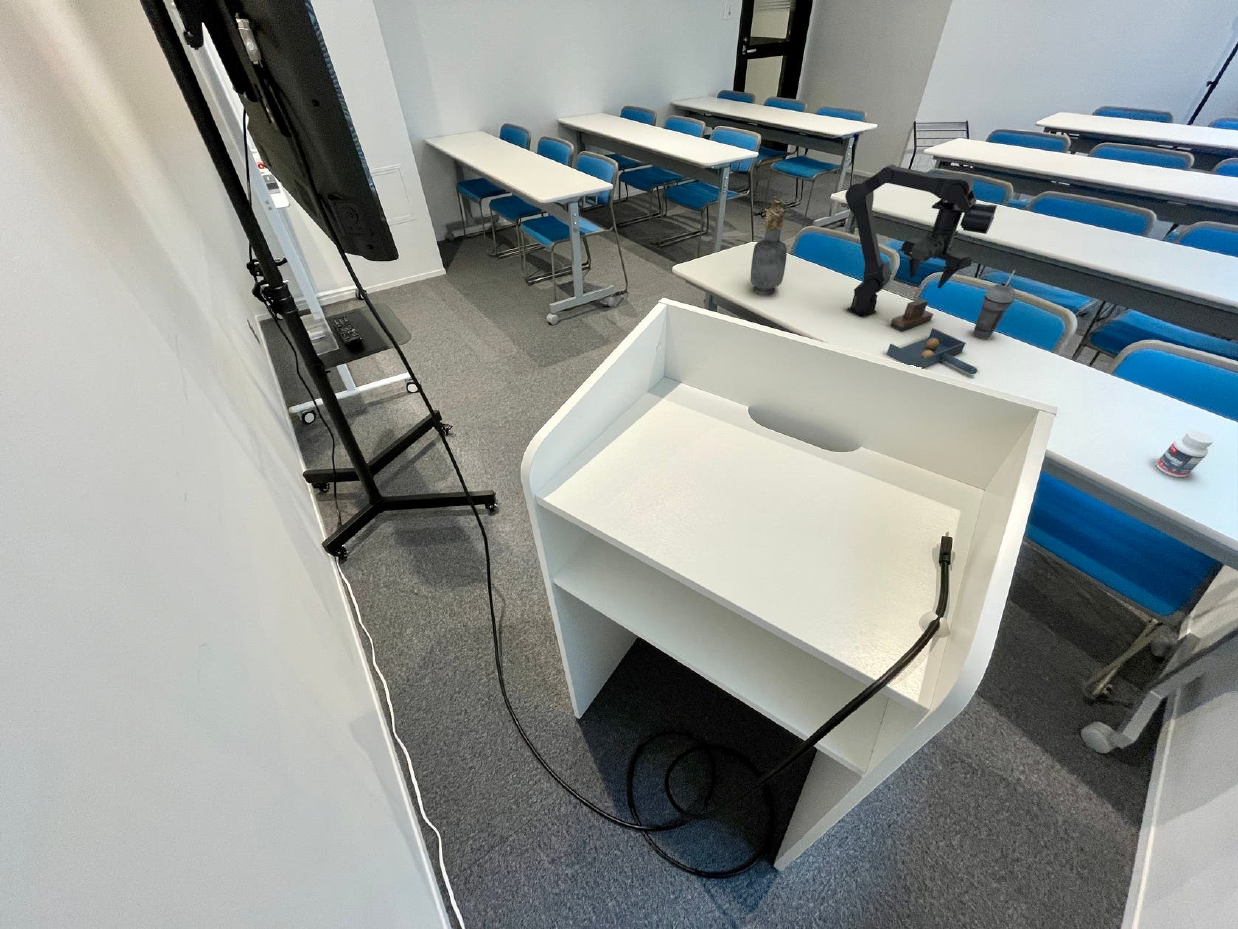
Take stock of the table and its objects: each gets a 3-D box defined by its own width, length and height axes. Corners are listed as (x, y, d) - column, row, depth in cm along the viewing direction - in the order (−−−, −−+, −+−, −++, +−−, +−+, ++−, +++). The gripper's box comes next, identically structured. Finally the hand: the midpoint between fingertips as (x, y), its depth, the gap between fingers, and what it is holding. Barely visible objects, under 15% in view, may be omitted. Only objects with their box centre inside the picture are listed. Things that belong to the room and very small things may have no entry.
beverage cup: (989, 329, 159) (1020, 263, 146) (999, 341, 153) (1033, 273, 140) (963, 329, 160) (992, 263, 146) (973, 341, 154) (1004, 273, 141)
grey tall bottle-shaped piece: (748, 298, 181) (760, 204, 161) (748, 277, 195) (760, 188, 175) (780, 300, 179) (797, 205, 159) (778, 278, 193) (794, 188, 173)
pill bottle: (1148, 462, 113) (1176, 429, 107) (1172, 460, 113) (1200, 427, 107) (1170, 478, 109) (1200, 445, 103) (1194, 476, 109) (1225, 443, 103)
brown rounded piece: (933, 351, 149) (922, 349, 152) (940, 348, 150) (930, 346, 153) (935, 340, 148) (924, 338, 150) (942, 337, 149) (932, 335, 151)
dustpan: (886, 354, 150) (890, 343, 148) (929, 337, 156) (933, 327, 154) (951, 387, 137) (956, 377, 134) (995, 368, 143) (1000, 358, 141)
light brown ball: (915, 355, 147) (924, 349, 144) (923, 352, 148) (932, 346, 145) (922, 365, 146) (931, 359, 143) (930, 362, 147) (938, 355, 144)
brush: (889, 326, 163) (896, 304, 158) (918, 315, 167) (926, 294, 163) (901, 331, 160) (909, 309, 155) (930, 321, 164) (938, 299, 160)
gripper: (896, 223, 148) (880, 278, 158) (956, 242, 136) (934, 300, 146) (923, 216, 152) (905, 270, 162) (984, 234, 139) (960, 291, 150)
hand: (925, 282), depth 155 cm, fingers open, 9 cm apart
